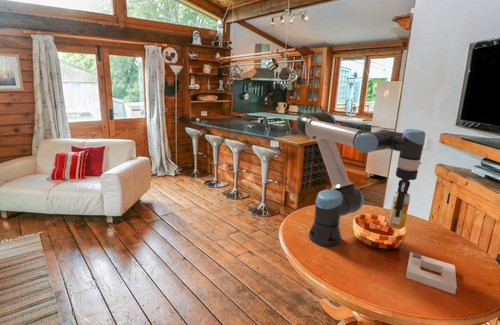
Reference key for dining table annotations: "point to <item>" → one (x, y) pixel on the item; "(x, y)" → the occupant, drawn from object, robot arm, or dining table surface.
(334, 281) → the dining table surface
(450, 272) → the socket plate
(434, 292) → the dining table surface
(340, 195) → the robot arm
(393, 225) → the beer can
